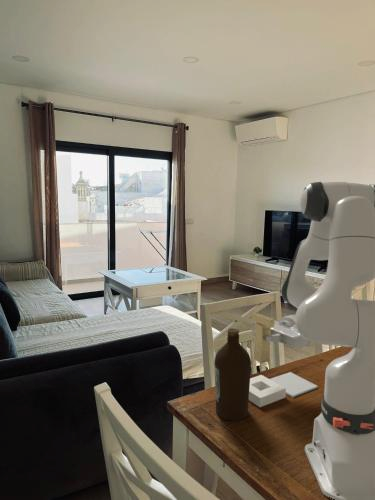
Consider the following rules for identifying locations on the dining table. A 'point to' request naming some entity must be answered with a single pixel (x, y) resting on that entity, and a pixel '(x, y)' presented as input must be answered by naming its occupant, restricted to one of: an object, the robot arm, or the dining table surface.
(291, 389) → the white mat
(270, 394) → the socket block
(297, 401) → the dining table surface
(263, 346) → the t key
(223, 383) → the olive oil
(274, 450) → the dining table surface
